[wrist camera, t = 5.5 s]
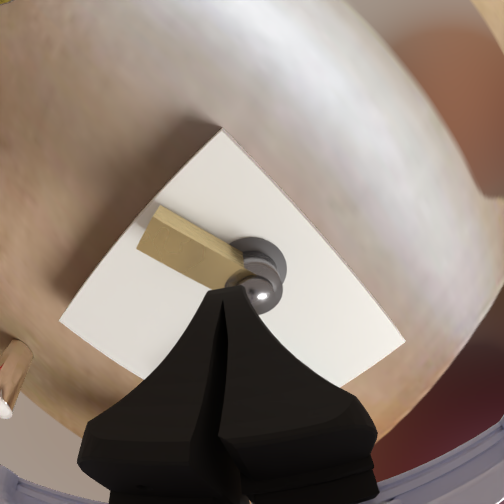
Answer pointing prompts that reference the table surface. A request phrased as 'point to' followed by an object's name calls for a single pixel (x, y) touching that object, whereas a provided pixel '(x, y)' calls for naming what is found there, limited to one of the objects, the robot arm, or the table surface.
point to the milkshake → (13, 375)
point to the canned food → (5, 1)
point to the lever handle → (211, 259)
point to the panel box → (192, 293)
